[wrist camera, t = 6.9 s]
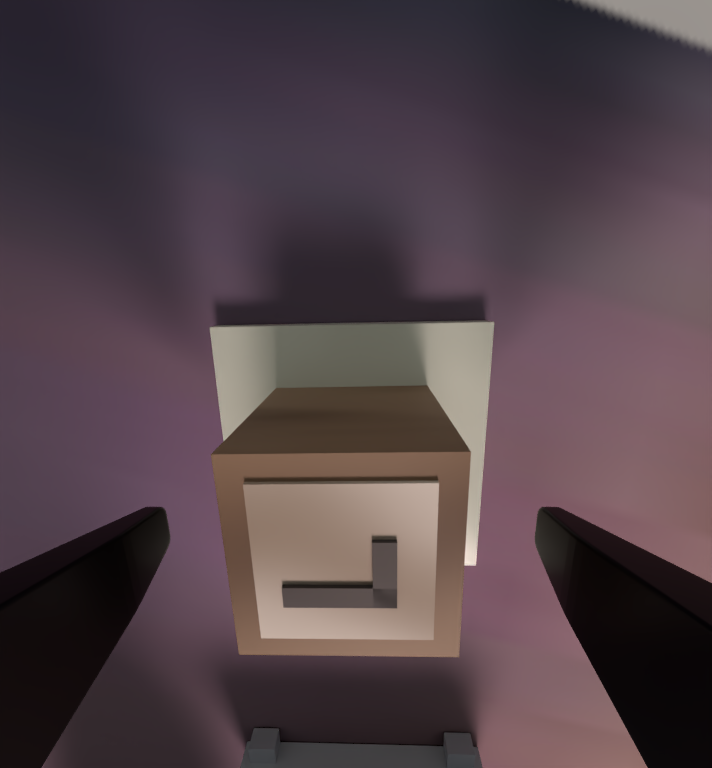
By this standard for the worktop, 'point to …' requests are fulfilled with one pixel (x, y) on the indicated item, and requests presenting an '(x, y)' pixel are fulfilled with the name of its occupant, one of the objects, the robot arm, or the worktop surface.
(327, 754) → the screen
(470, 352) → the coaster
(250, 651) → the letter cube
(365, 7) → the worktop surface
